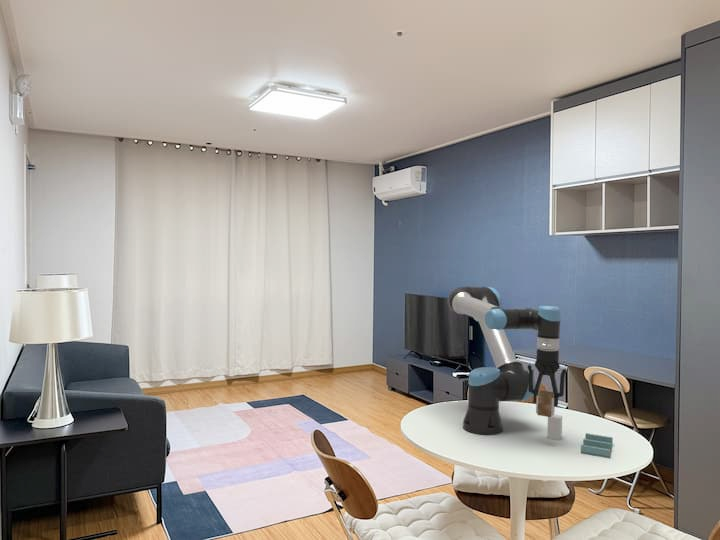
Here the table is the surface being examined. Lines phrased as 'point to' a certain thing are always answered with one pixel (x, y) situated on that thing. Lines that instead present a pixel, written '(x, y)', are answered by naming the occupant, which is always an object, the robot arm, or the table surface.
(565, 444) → the table surface
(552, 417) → the white rectangular block
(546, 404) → the walnut plug
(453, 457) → the table surface
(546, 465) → the table surface
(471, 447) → the table surface
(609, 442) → the teal-ribbed grey panel
